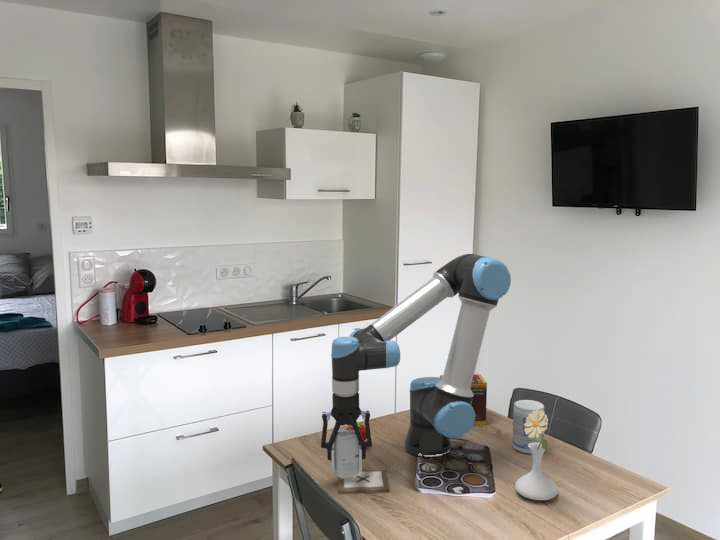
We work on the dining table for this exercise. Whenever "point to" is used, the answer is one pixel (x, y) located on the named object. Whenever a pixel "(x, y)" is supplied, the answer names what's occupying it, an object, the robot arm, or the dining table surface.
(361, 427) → the strawberry
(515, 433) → the supplement tub
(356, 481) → the tray with cross mark
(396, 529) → the dining table surface
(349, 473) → the skincare box
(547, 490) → the flower in vase
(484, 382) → the supplement box
